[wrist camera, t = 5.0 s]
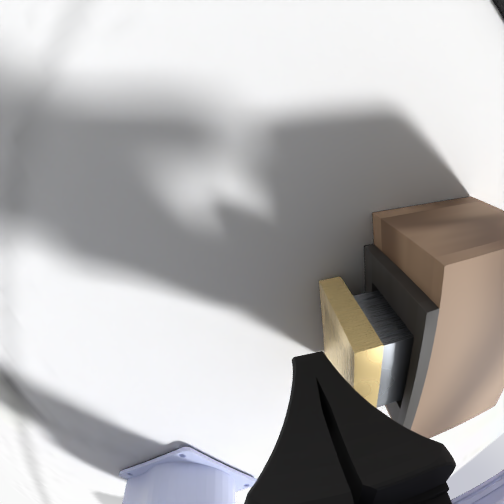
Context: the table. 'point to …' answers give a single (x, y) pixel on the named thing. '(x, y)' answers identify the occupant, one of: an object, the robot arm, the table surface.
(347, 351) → the peg
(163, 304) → the table surface
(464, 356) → the collar block
